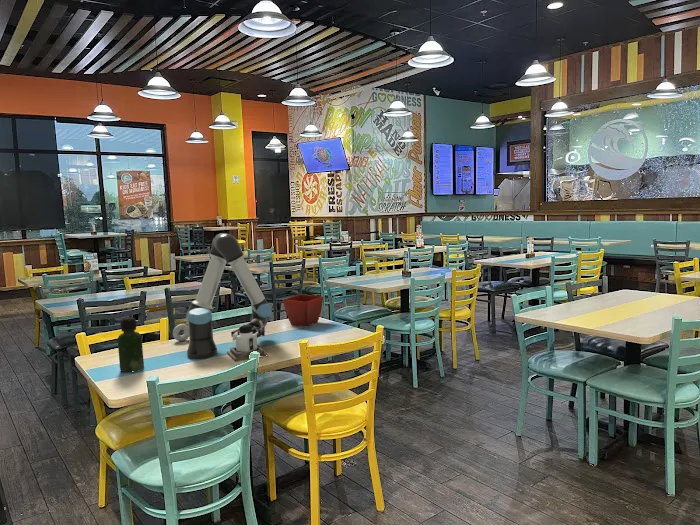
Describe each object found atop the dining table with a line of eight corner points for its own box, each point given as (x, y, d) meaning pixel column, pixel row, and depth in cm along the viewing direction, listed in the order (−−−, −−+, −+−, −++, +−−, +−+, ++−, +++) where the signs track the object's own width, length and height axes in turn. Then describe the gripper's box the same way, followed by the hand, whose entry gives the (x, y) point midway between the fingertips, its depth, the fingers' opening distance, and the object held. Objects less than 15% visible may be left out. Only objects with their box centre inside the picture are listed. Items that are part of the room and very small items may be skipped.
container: (257, 348, 262) (256, 324, 260) (247, 352, 255) (246, 327, 253) (246, 347, 265) (244, 322, 264) (236, 351, 259) (234, 326, 257)
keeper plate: (234, 361, 249) (234, 355, 249) (226, 353, 264) (226, 347, 264) (268, 356, 257) (267, 350, 256) (258, 348, 272) (258, 342, 271)
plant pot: (307, 328, 312) (306, 301, 310) (283, 325, 322) (281, 299, 320) (325, 321, 328) (324, 296, 326) (301, 319, 338) (300, 294, 336)
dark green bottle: (148, 368, 242) (143, 317, 240) (126, 374, 235) (121, 321, 232) (137, 364, 249) (133, 314, 247) (116, 370, 242) (111, 318, 239)
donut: (174, 343, 288) (173, 326, 287) (172, 342, 291) (171, 324, 290) (192, 340, 294) (190, 323, 293) (190, 338, 297) (188, 322, 295)
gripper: (275, 333, 277) (266, 344, 255) (234, 334, 278) (222, 345, 256) (275, 320, 276) (265, 330, 254) (234, 320, 277) (221, 330, 255)
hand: (243, 337), depth 255 cm, fingers closed on container, 10 cm apart
